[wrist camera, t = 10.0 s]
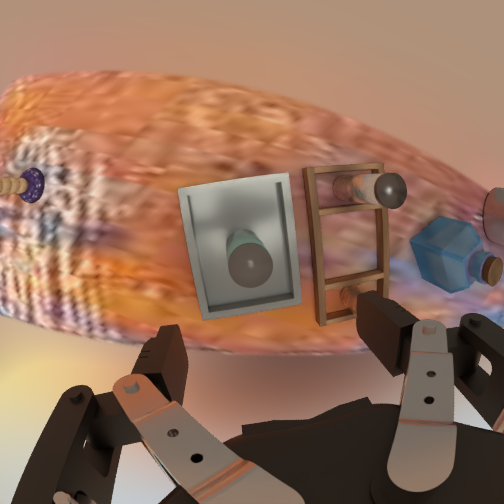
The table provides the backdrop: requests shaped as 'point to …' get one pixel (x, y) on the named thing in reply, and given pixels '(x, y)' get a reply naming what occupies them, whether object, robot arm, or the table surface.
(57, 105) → the table surface
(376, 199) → the glass vial
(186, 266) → the table surface
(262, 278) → the cylinder
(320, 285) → the rack
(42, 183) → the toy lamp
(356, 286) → the canister
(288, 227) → the dish
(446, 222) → the perfume bottle
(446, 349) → the robot arm
